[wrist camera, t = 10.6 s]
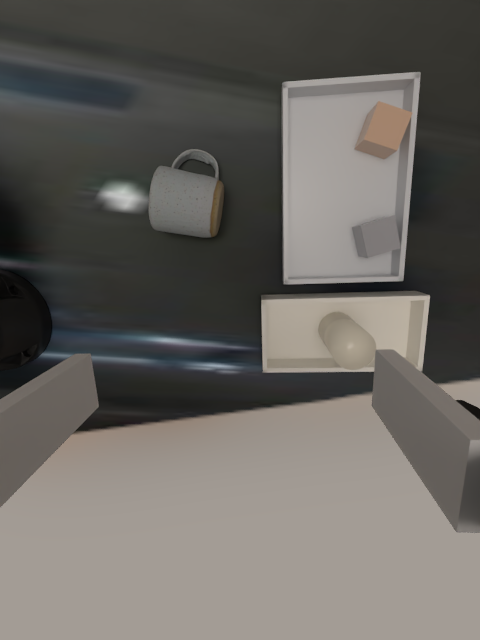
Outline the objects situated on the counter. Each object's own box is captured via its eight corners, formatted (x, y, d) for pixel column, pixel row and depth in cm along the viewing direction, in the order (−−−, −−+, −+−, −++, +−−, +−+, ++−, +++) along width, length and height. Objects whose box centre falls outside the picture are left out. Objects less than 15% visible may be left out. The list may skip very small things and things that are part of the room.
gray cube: (358, 256, 43) (367, 257, 39) (351, 226, 42) (360, 225, 38) (388, 247, 43) (400, 248, 39) (382, 217, 42) (394, 215, 38)
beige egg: (318, 312, 45) (332, 329, 37) (354, 311, 45) (377, 328, 36) (317, 345, 46) (331, 370, 38) (352, 345, 46) (374, 369, 37)
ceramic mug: (220, 240, 44) (212, 239, 37) (162, 231, 44) (143, 228, 37) (231, 157, 42) (225, 138, 34) (170, 148, 42) (150, 127, 34)
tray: (282, 281, 45) (283, 284, 42) (281, 93, 39) (282, 82, 37) (393, 278, 44) (403, 280, 41) (408, 84, 38) (420, 71, 35)
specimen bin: (262, 361, 48) (262, 372, 44) (261, 294, 46) (261, 299, 42) (408, 360, 47) (422, 371, 43) (415, 290, 44) (430, 295, 40)
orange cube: (354, 149, 40) (364, 139, 36) (366, 114, 39) (378, 100, 35) (384, 159, 40) (397, 150, 36) (397, 125, 39) (412, 112, 35)
